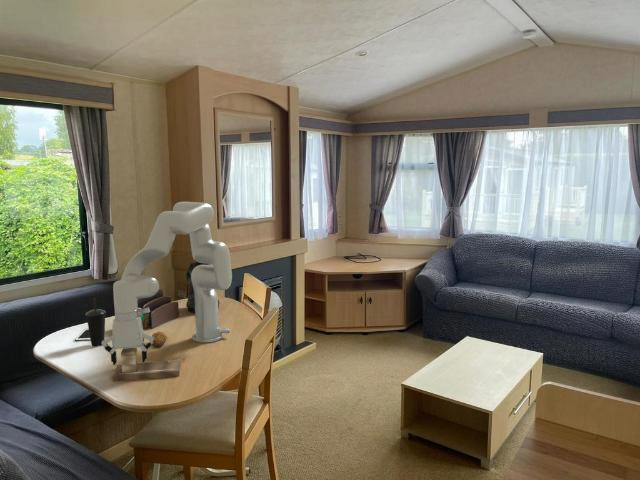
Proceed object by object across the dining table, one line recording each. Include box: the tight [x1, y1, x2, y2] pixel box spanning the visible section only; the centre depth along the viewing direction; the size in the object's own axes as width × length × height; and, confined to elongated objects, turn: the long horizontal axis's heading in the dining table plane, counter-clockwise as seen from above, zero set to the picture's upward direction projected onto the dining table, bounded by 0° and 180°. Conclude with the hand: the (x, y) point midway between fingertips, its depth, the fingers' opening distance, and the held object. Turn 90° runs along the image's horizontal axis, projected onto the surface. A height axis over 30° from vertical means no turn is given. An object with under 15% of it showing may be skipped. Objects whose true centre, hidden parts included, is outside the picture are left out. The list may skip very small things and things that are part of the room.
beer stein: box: [185, 261, 221, 315], centre depth 253 cm, size 16×19×25 cm
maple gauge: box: [120, 347, 139, 372], centre depth 176 cm, size 5×5×7 cm
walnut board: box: [112, 359, 181, 383], centre depth 178 cm, size 22×10×2 cm, turn 103°
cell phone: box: [74, 328, 91, 342], centre depth 217 cm, size 8×15×1 cm, turn 8°
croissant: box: [151, 331, 169, 348], centre depth 208 cm, size 14×7×5 cm, turn 15°
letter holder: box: [137, 288, 180, 330], centre depth 235 cm, size 10×20×14 cm, turn 159°
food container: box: [138, 307, 150, 331], centre depth 224 cm, size 12×6×10 cm, turn 69°
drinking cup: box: [84, 296, 107, 348], centre depth 204 cm, size 8×8×20 cm
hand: (129, 362), depth 176 cm, fingers open, 9 cm apart
